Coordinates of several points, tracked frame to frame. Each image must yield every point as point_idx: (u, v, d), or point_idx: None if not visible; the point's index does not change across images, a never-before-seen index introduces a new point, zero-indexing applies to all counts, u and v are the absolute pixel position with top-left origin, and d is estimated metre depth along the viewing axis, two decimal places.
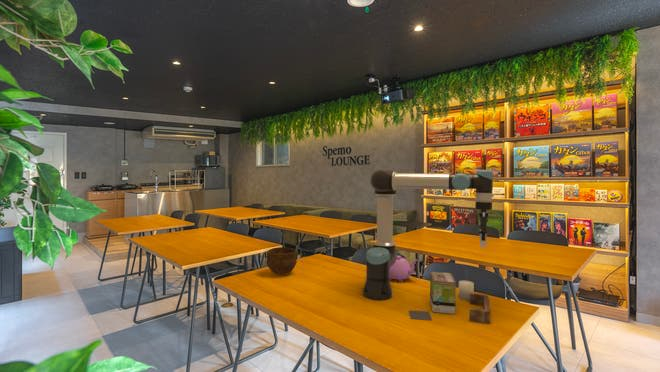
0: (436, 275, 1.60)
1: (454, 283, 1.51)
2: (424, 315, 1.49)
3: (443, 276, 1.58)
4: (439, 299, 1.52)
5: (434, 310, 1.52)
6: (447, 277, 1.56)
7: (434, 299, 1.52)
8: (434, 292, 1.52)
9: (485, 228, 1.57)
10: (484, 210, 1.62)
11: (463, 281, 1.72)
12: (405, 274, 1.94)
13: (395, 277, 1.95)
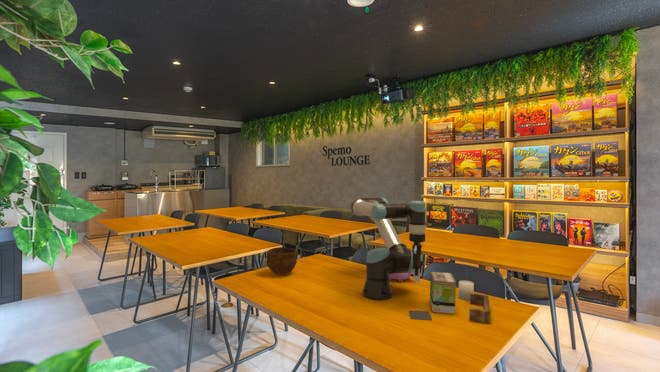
0: (436, 275, 1.60)
1: (454, 283, 1.51)
2: (424, 315, 1.49)
3: (443, 276, 1.58)
4: (439, 299, 1.52)
5: (434, 310, 1.52)
6: (447, 277, 1.56)
7: (434, 299, 1.52)
8: (434, 292, 1.52)
9: (417, 265, 1.59)
10: (416, 242, 1.59)
11: (463, 281, 1.72)
12: (405, 274, 1.94)
13: (395, 277, 1.95)
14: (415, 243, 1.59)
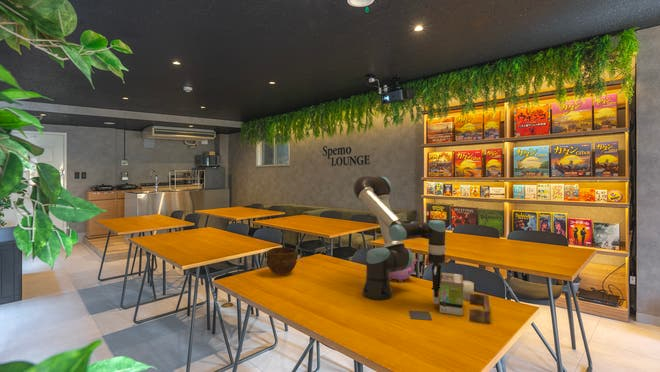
0: (445, 276, 1.58)
1: (461, 284, 1.49)
2: (424, 315, 1.49)
3: (452, 277, 1.56)
4: (446, 300, 1.51)
5: (441, 311, 1.52)
6: (456, 278, 1.55)
7: (441, 300, 1.52)
8: (441, 293, 1.52)
9: (437, 286, 1.56)
10: (436, 263, 1.56)
11: (463, 281, 1.72)
12: (405, 274, 1.94)
13: (395, 277, 1.95)
14: (435, 264, 1.56)
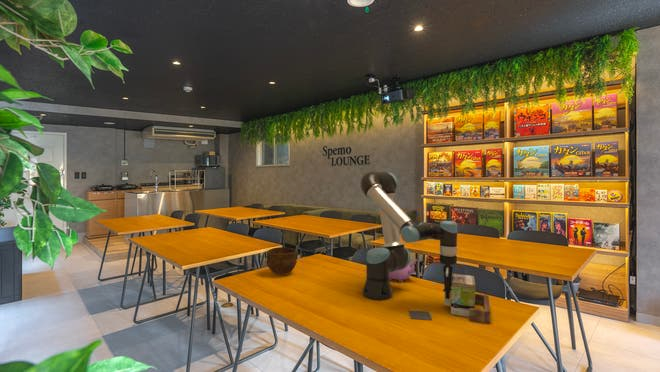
0: (456, 277, 1.56)
1: (473, 286, 1.47)
2: (424, 315, 1.49)
3: (463, 278, 1.54)
4: (458, 301, 1.49)
5: (452, 312, 1.50)
6: (467, 280, 1.53)
7: (452, 301, 1.50)
8: (452, 294, 1.50)
9: (448, 288, 1.54)
10: (448, 265, 1.54)
11: None
12: (405, 274, 1.94)
13: (395, 277, 1.95)
14: (446, 265, 1.54)
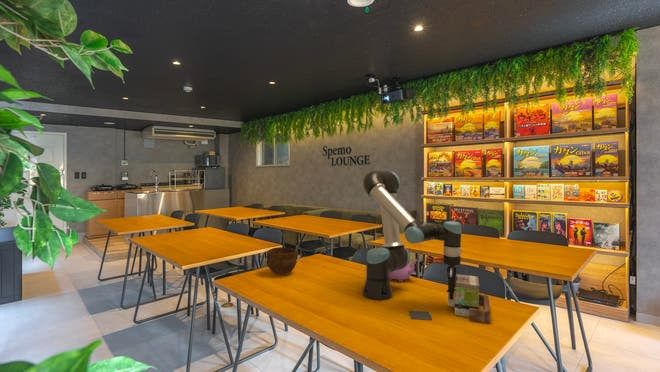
0: (460, 278, 1.56)
1: (477, 287, 1.46)
2: (424, 315, 1.49)
3: (467, 279, 1.54)
4: (461, 302, 1.48)
5: (456, 313, 1.49)
6: (471, 280, 1.52)
7: (456, 302, 1.49)
8: (456, 295, 1.49)
9: (452, 289, 1.53)
10: (452, 265, 1.53)
11: None
12: (405, 274, 1.94)
13: (395, 277, 1.95)
14: (450, 266, 1.53)
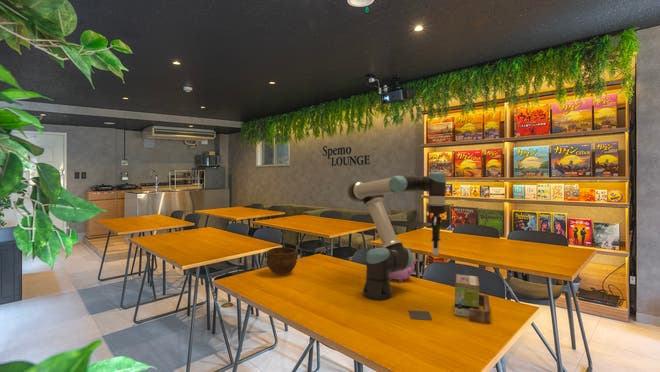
0: (460, 278, 1.56)
1: (477, 286, 1.46)
2: (424, 315, 1.49)
3: (467, 279, 1.54)
4: (461, 302, 1.48)
5: (456, 313, 1.49)
6: (471, 280, 1.52)
7: (456, 302, 1.49)
8: (456, 295, 1.49)
9: (436, 237, 1.56)
10: (436, 214, 1.56)
11: None
12: (405, 274, 1.94)
13: (395, 277, 1.95)
14: (435, 214, 1.56)
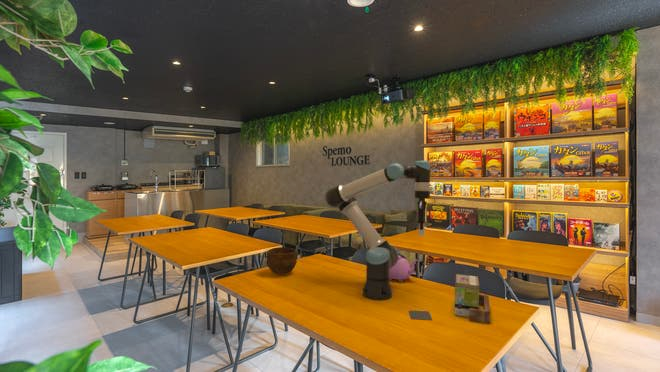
0: (460, 278, 1.56)
1: (477, 286, 1.46)
2: (424, 315, 1.49)
3: (467, 279, 1.54)
4: (461, 302, 1.48)
5: (456, 313, 1.49)
6: (471, 280, 1.52)
7: (456, 302, 1.49)
8: (456, 295, 1.49)
9: (422, 219, 1.72)
10: (421, 198, 1.72)
11: None
12: (405, 274, 1.94)
13: (395, 277, 1.95)
14: (420, 199, 1.72)
